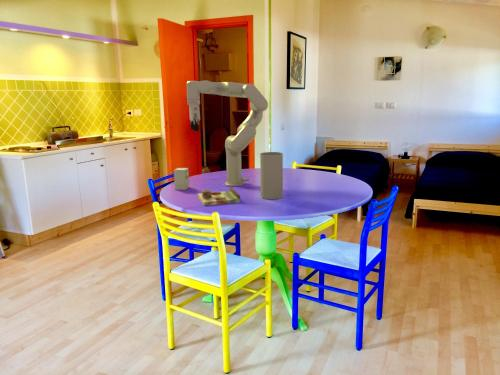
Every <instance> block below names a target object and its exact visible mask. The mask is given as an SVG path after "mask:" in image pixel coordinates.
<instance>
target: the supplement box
mask: <svg viewBox="0 0 500 375" xmlns="http://www.w3.org/2000/svg"><path fill="white" fill-rule="evenodd" d="M189 175H190V174H189V167H177V168H175V169H174V170H173V179H174V180H173V182H174V183H173V184H174V190H178V191H179V190H181V191H186V190H187V189H189V188H190V176H189Z"/></svg>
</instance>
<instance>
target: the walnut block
mask: <svg viewBox="0 0 500 375" xmlns="http://www.w3.org/2000/svg"><path fill="white" fill-rule="evenodd" d="M211 192H212V190H210V189H205V190H201V193H202V197H203V199H204V198H212V196H211Z"/></svg>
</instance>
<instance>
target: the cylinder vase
mask: <svg viewBox="0 0 500 375" xmlns="http://www.w3.org/2000/svg"><path fill="white" fill-rule="evenodd" d="M259 156H260V157H259V159H260V160H259V161H260V162H259V164H260V165H259V166H260V168H259V170H260V172H259V173H260V197H261V198H262V199H264V200H272V201H273V200H274V201H275V200H279V199H282V198H283V196H284V189H283V187H284V186H283V185H284V180H283V179H284V173H283V172H284V169H283V168H284V153H283V152H280V151H279V152H278V151H265V152H261V153H259Z"/></svg>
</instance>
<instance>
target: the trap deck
mask: <svg viewBox="0 0 500 375" xmlns="http://www.w3.org/2000/svg"><path fill="white" fill-rule="evenodd" d="M211 196H212V198H204V199H203V197H202V192H201V193H197V198H198V199H199V201H200V202H201V204H202V205H203V207H204V206H205V207H207V206H216V205H225V204H227V205H229V204H238V203H241V195H240V193H238V192H237V191H236V190H235V189H234V188H232V187H229V190H226V191H224V190H222V191H214V192H213V191H211Z"/></svg>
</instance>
